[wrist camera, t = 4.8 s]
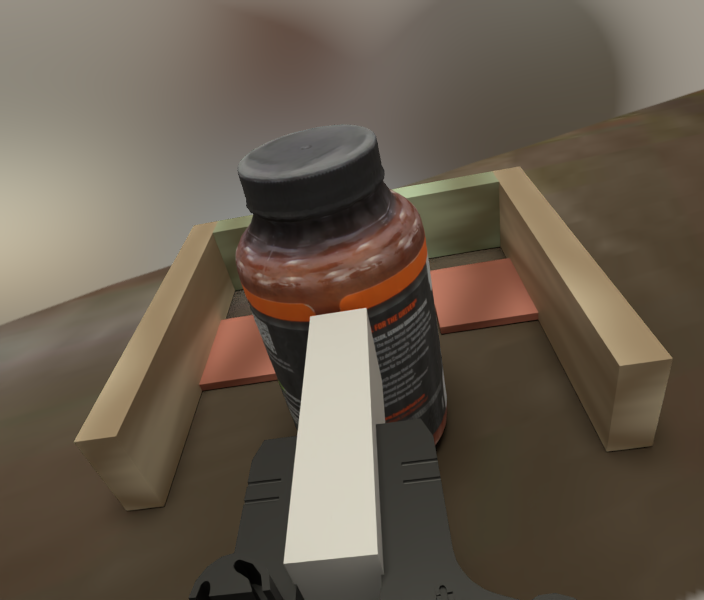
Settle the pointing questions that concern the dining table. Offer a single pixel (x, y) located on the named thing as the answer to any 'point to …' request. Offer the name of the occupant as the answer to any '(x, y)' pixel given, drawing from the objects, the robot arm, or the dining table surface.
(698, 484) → the dining table surface
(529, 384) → the dining table surface
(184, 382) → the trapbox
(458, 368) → the dining table surface
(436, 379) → the supplement bottle
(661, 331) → the dining table surface
